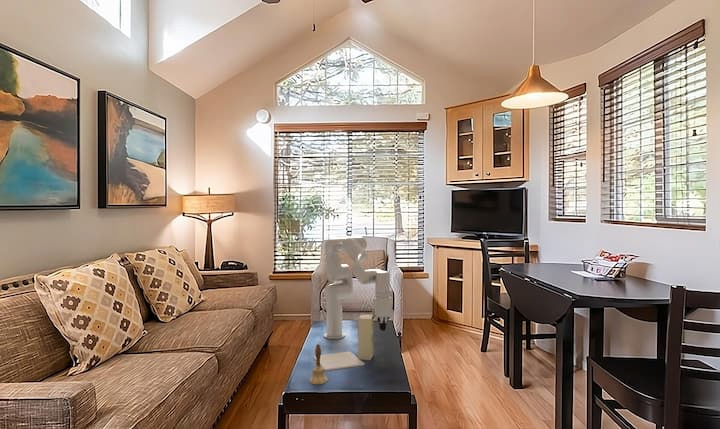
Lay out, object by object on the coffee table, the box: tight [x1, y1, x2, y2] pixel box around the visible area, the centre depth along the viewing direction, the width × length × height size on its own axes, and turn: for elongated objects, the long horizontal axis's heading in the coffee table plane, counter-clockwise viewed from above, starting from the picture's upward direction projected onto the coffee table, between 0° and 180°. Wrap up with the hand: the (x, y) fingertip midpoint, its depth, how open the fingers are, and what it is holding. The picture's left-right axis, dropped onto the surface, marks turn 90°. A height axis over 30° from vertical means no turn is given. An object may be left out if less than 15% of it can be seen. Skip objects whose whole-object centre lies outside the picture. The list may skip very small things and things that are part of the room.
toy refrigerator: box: [357, 314, 375, 361], centre depth 220 cm, size 8×7×21 cm
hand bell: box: [308, 344, 329, 385], centre depth 189 cm, size 8×8×16 cm
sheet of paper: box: [313, 350, 365, 372], centre depth 214 cm, size 20×20×1 cm
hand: (382, 330), depth 223 cm, fingers closed
